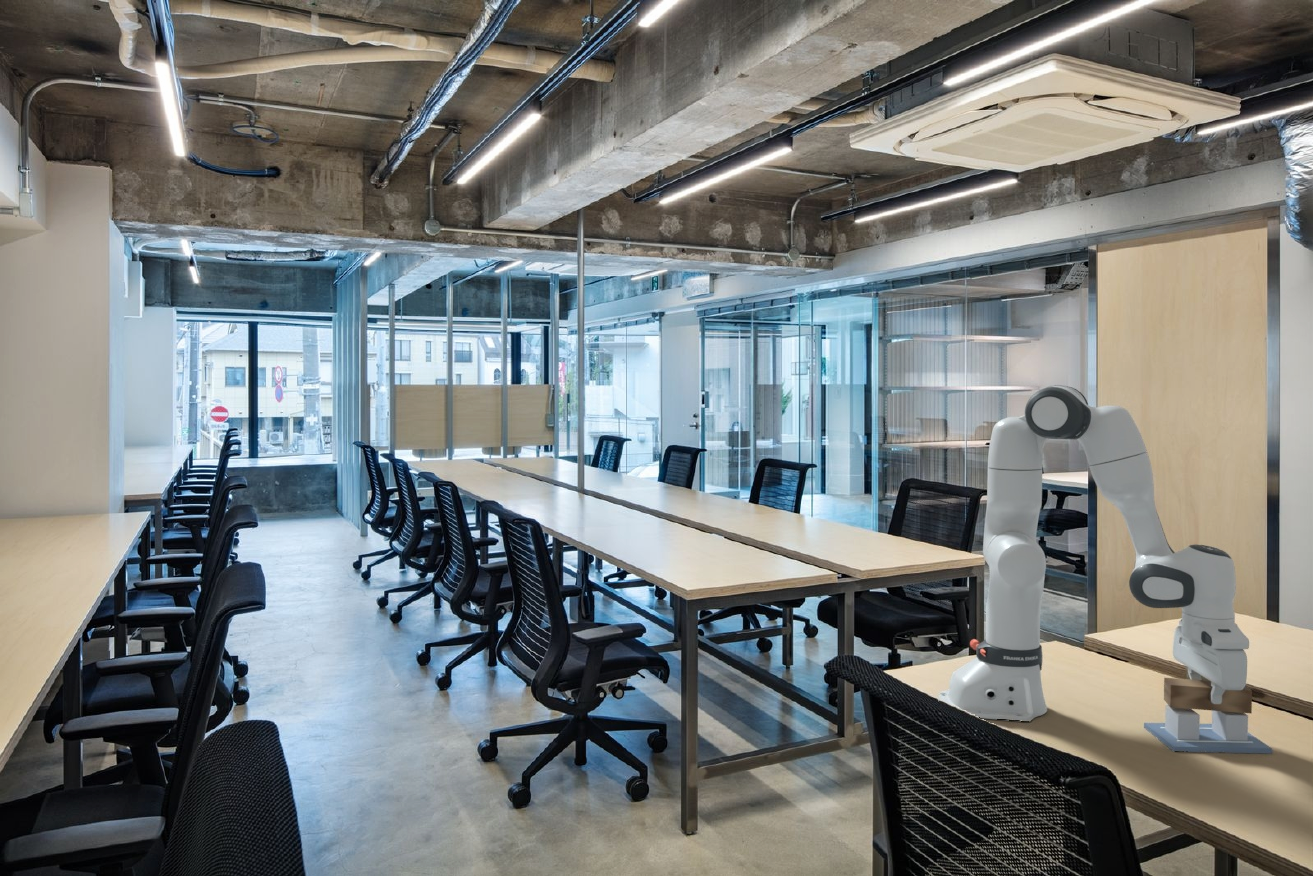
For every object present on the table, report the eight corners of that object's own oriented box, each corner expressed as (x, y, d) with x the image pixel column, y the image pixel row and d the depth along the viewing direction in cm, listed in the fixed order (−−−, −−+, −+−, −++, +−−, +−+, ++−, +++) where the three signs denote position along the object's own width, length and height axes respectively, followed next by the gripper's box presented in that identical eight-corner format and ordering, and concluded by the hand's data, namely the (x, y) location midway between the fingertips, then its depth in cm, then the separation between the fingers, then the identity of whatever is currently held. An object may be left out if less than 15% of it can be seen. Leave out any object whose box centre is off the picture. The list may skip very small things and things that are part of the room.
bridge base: (1173, 751, 169) (1174, 721, 168) (1143, 727, 180) (1144, 699, 180) (1271, 753, 167) (1272, 722, 167) (1235, 729, 179) (1236, 700, 179)
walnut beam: (1170, 707, 173) (1170, 685, 173) (1163, 699, 177) (1164, 677, 177) (1251, 713, 169) (1252, 690, 169) (1242, 705, 174) (1243, 683, 173)
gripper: (1164, 614, 183) (1163, 679, 184) (1219, 643, 163) (1217, 715, 164) (1196, 614, 183) (1194, 679, 183) (1255, 643, 162) (1253, 716, 163)
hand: (1206, 697), depth 173 cm, fingers closed on walnut beam, 5 cm apart
